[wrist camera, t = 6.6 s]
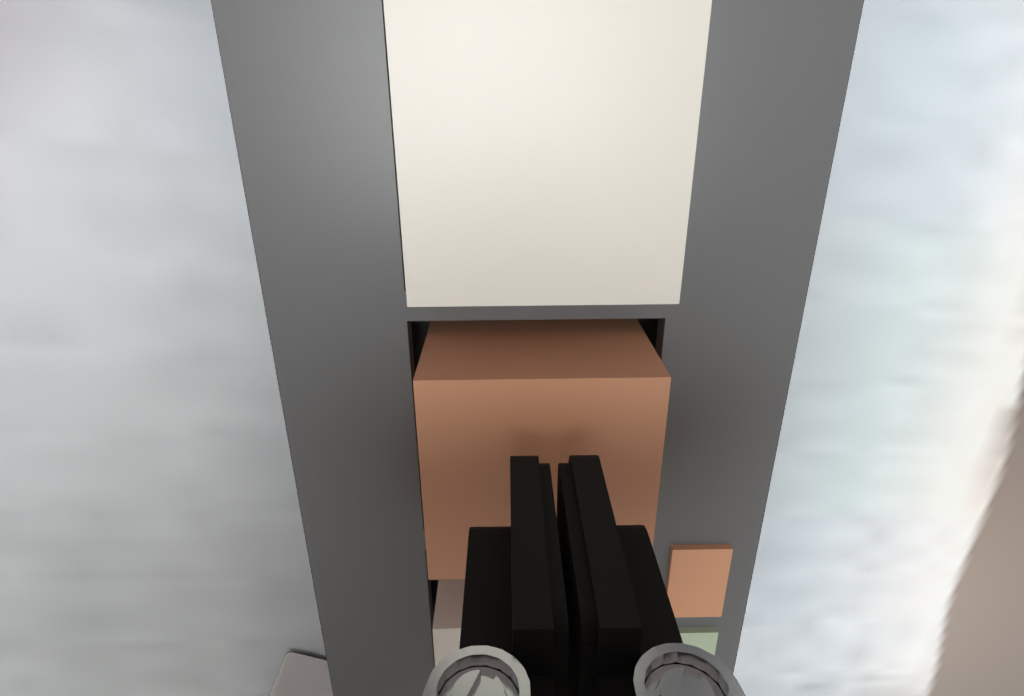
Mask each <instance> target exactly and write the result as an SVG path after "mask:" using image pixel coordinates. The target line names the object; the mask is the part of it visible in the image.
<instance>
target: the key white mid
mask: <svg viewBox="0 0 1024 696" xmlns="http://www.w3.org/2000/svg"><path fill="white" fill-rule="evenodd" d="M383 4H384V17H385V29H386V42H387V55H388V68H389V81H390V93H391V106H392V119H393V132H394V145H395V157H396V170H397V183H398V196H399V209H400V221H401V234H402V247H403V260H404V273H405V285H406V298H407V307H456V306H546V305H637V304H679V301H680V292H681V283H682V274H683V264H684V255H685V246H686V237H687V227H688V218H689V209H690V200H691V191H692V181H693V172H694V163H695V154H696V144H697V135H698V126H699V117H700V108H701V98H702V89H703V80H704V71H705V61H706V52H707V43H708V34H709V24H710V15H711V6H712V0H383Z"/></svg>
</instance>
